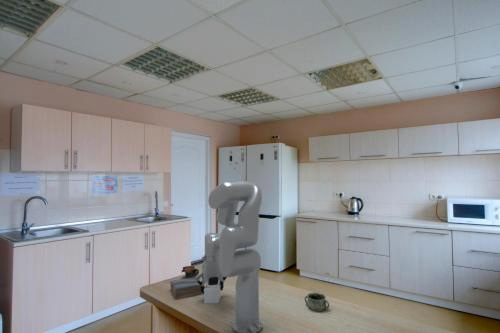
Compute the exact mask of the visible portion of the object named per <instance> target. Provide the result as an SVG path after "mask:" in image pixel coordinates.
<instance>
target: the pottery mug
mask: <svg viewBox="0 0 500 333" xmlns="http://www.w3.org/2000/svg"><path fill="white" fill-rule="evenodd" d="M182 273H184V274H185V275H184V276H182V279H186V278H192V277H195V278H196V277H197V276H198V275H200V270H199V269H198V268H195V266H194V265H184V266H183V267H182V269H181V274H182Z"/></svg>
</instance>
